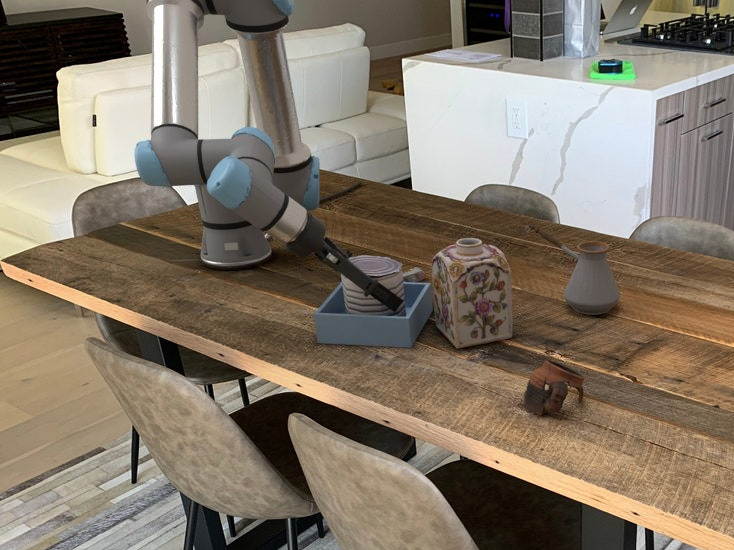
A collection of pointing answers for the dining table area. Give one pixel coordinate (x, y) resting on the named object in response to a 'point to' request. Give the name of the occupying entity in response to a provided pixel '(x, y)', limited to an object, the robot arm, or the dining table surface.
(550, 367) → the pottery mug
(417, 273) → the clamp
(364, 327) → the tote
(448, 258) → the decorative jar
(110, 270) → the dining table surface
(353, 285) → the can
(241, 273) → the dining table surface
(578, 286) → the coffee pot
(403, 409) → the dining table surface
